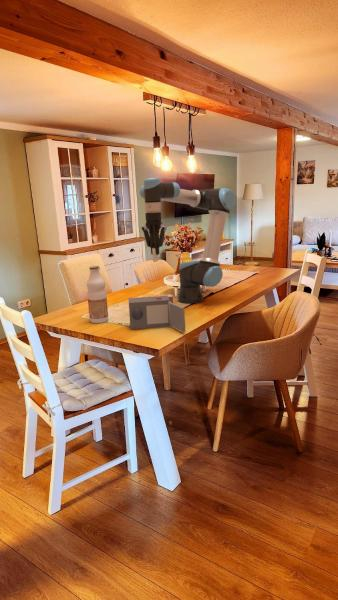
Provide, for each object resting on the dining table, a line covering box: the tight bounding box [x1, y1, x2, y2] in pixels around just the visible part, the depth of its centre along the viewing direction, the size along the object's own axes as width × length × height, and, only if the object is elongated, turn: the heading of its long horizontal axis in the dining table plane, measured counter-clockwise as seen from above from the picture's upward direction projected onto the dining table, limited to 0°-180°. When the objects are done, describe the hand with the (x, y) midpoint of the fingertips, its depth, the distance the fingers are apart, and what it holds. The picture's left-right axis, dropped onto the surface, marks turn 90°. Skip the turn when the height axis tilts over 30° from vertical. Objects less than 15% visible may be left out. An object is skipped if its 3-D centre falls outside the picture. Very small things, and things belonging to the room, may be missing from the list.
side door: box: [168, 301, 186, 333], centre depth 182 cm, size 12×2×12 cm, turn 30°
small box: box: [156, 294, 174, 303], centre depth 206 cm, size 8×6×10 cm
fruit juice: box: [86, 265, 109, 324], centre depth 199 cm, size 9×9×28 cm
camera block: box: [128, 296, 171, 331], centre depth 190 cm, size 19×10×14 cm, turn 97°
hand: (155, 261), depth 195 cm, fingers closed
